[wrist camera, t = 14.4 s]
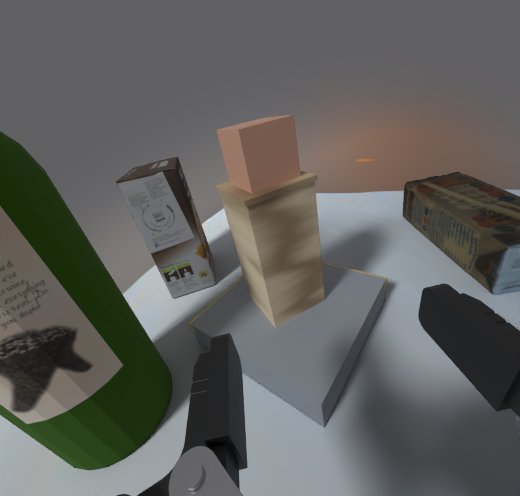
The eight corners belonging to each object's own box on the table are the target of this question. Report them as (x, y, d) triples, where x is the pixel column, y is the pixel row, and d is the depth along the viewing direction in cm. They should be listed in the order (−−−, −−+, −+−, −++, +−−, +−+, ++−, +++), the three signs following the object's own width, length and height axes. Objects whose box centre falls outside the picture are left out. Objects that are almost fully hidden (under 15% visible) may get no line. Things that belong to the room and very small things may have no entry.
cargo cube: (273, 169, 21) (264, 117, 19) (300, 176, 18) (293, 114, 16) (230, 183, 20) (216, 129, 18) (252, 193, 17) (238, 129, 15)
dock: (275, 267, 35) (271, 249, 33) (385, 299, 26) (387, 276, 25) (197, 342, 26) (187, 322, 25) (324, 428, 17) (321, 405, 16)
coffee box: (218, 285, 34) (175, 166, 26) (171, 300, 33) (113, 182, 25) (212, 253, 42) (178, 155, 34) (174, 265, 41) (130, 167, 33)
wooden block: (292, 272, 28) (275, 165, 22) (327, 300, 24) (317, 174, 18) (247, 295, 26) (215, 185, 20) (275, 330, 22) (244, 201, 16)
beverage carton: (488, 299, 24) (509, 240, 21) (398, 218, 41) (402, 178, 37) (582, 288, 23) (619, 225, 20) (451, 209, 40) (459, 167, 36)
